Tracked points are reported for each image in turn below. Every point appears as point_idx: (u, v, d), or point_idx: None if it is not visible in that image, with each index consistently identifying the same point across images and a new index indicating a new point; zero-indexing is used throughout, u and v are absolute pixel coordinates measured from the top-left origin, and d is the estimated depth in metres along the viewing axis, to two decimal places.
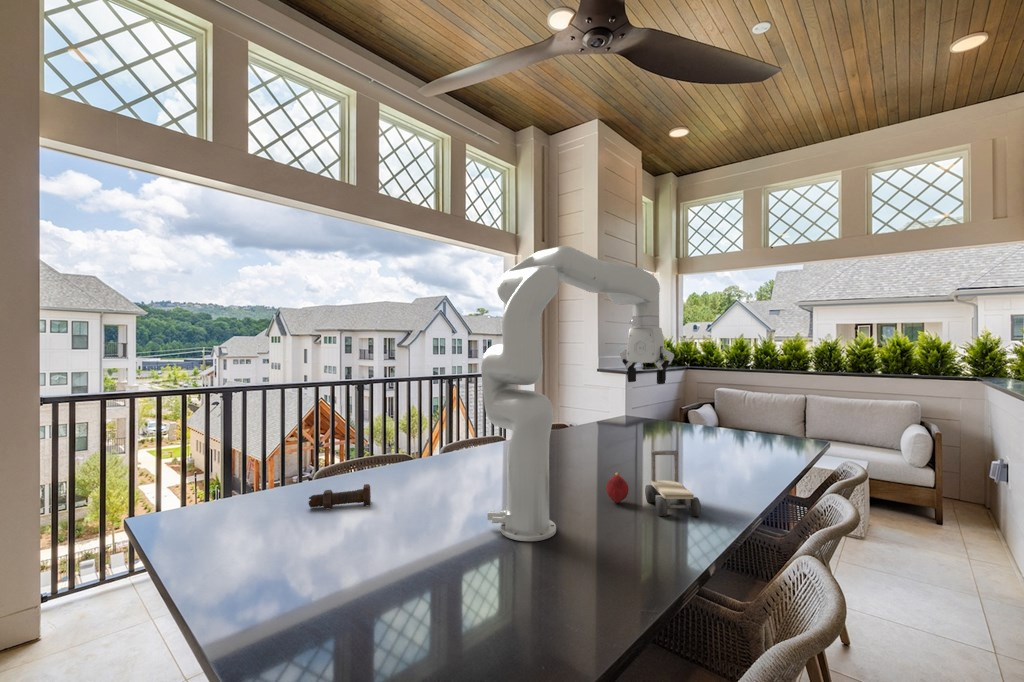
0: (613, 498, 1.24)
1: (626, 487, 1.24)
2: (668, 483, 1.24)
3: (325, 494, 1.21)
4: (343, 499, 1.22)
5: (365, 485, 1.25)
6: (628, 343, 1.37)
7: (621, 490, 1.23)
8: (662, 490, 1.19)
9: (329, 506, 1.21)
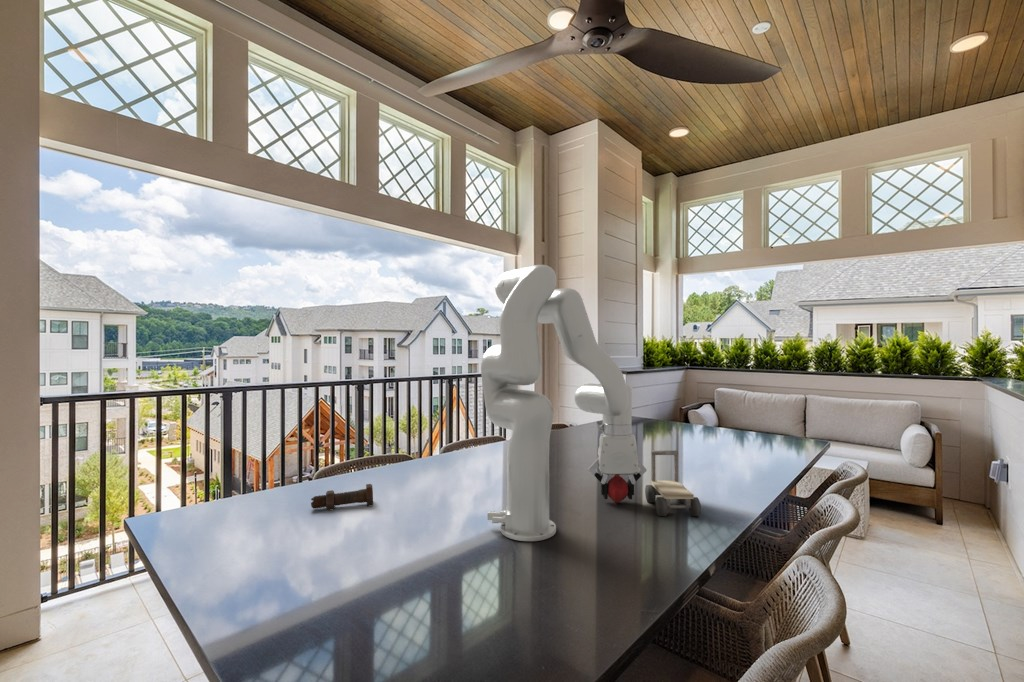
0: (613, 498, 1.24)
1: (626, 487, 1.24)
2: (668, 483, 1.24)
3: (328, 495, 1.20)
4: (346, 499, 1.22)
5: (367, 485, 1.25)
6: (603, 453, 1.23)
7: (621, 490, 1.23)
8: (662, 490, 1.19)
9: (332, 507, 1.21)
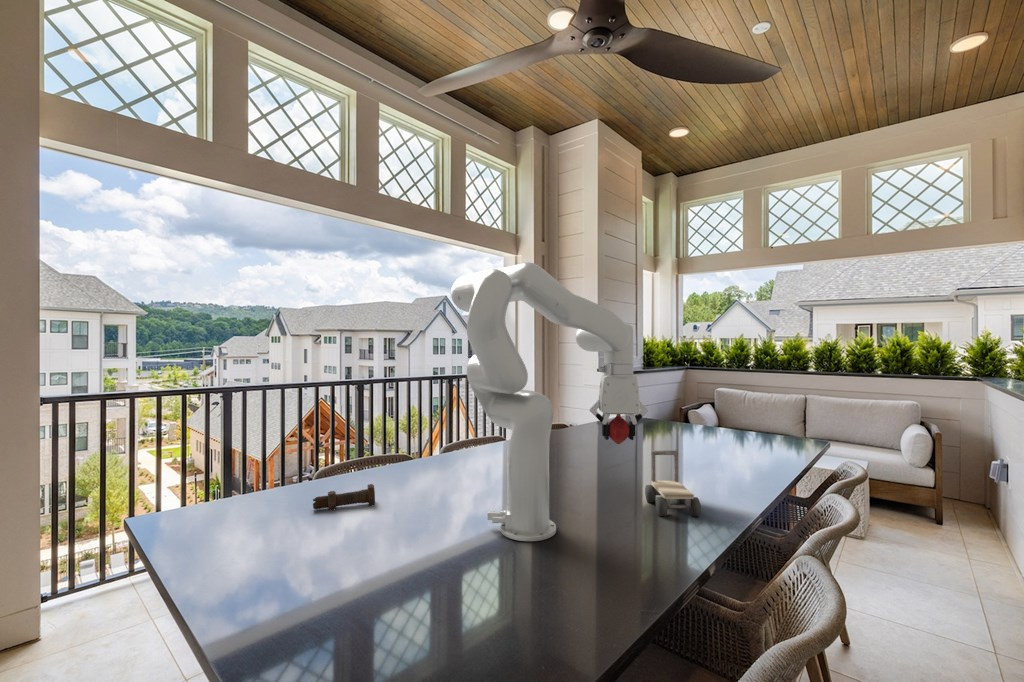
0: (614, 438, 1.23)
1: (627, 427, 1.23)
2: (668, 483, 1.24)
3: (330, 495, 1.20)
4: (348, 499, 1.22)
5: (369, 485, 1.25)
6: (604, 393, 1.22)
7: (622, 430, 1.22)
8: (662, 490, 1.19)
9: (334, 507, 1.20)
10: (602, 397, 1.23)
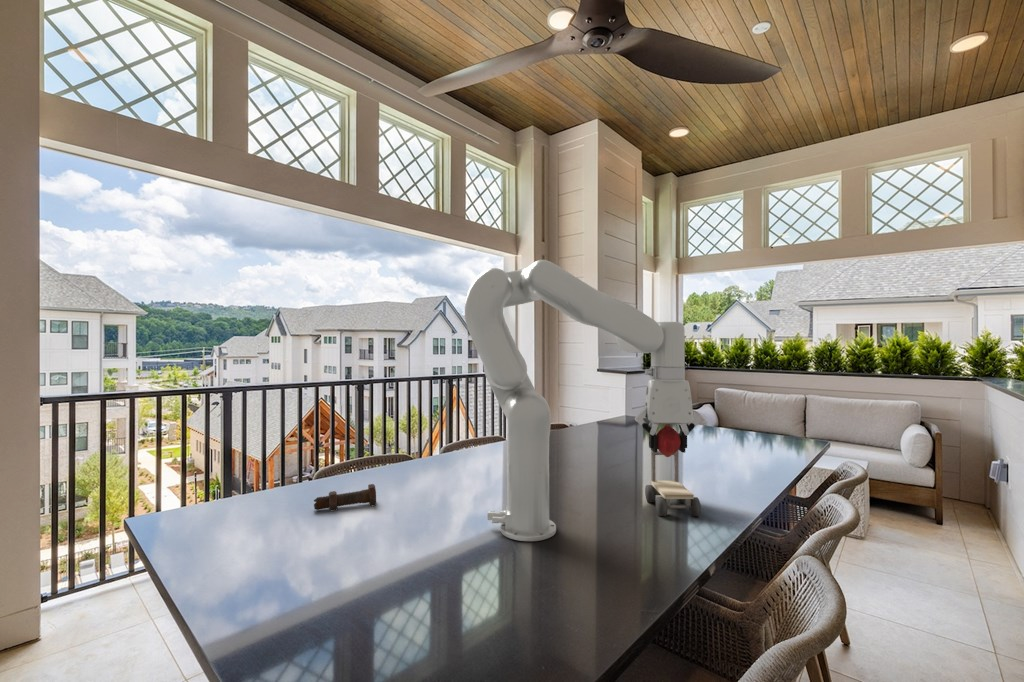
0: (664, 451, 1.09)
1: (679, 438, 1.09)
2: (668, 483, 1.24)
3: (331, 496, 1.20)
4: (349, 499, 1.21)
5: (370, 485, 1.25)
6: (653, 400, 1.08)
7: (673, 442, 1.08)
8: (662, 490, 1.19)
9: (335, 508, 1.20)
10: (650, 404, 1.09)
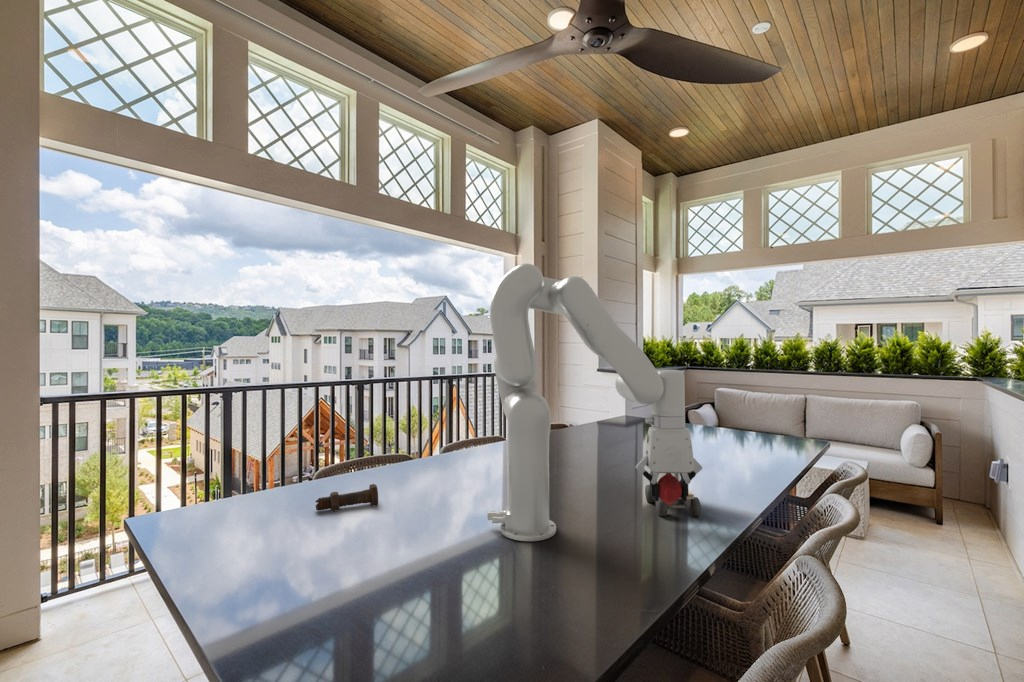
0: (665, 500, 1.09)
1: (680, 487, 1.09)
2: None
3: (333, 496, 1.20)
4: (351, 500, 1.21)
5: (371, 485, 1.25)
6: (653, 449, 1.08)
7: (674, 491, 1.08)
8: None
9: (337, 508, 1.20)
10: (651, 454, 1.09)
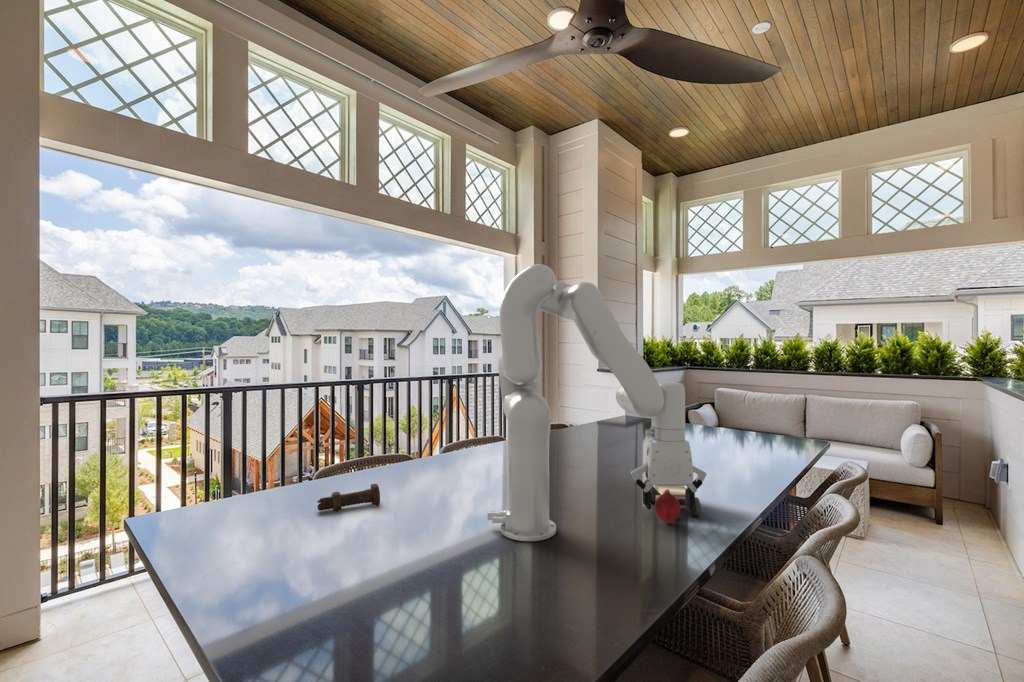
0: (664, 519, 1.09)
1: (678, 506, 1.09)
2: None
3: (335, 496, 1.19)
4: (353, 499, 1.21)
5: (373, 485, 1.26)
6: (653, 462, 1.08)
7: (673, 510, 1.08)
8: (662, 490, 1.19)
9: (339, 508, 1.20)
10: (651, 466, 1.09)
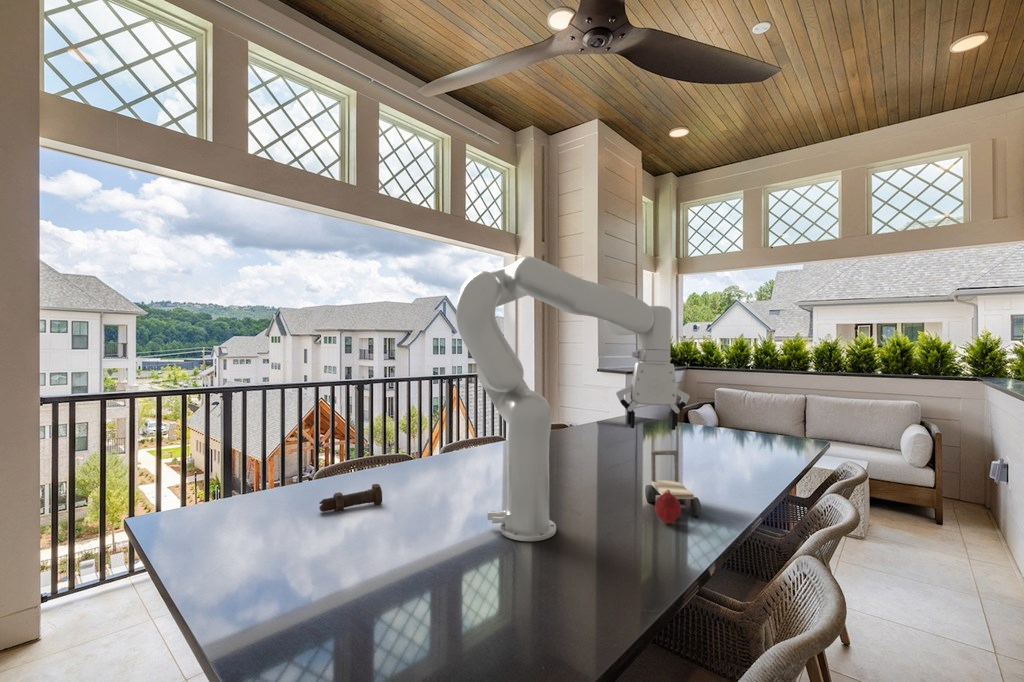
0: (664, 519, 1.09)
1: (679, 506, 1.09)
2: (668, 483, 1.24)
3: (338, 497, 1.19)
4: (355, 500, 1.21)
5: (375, 485, 1.26)
6: (638, 381, 1.12)
7: (673, 510, 1.08)
8: (662, 490, 1.19)
9: (342, 509, 1.19)
10: (635, 385, 1.12)
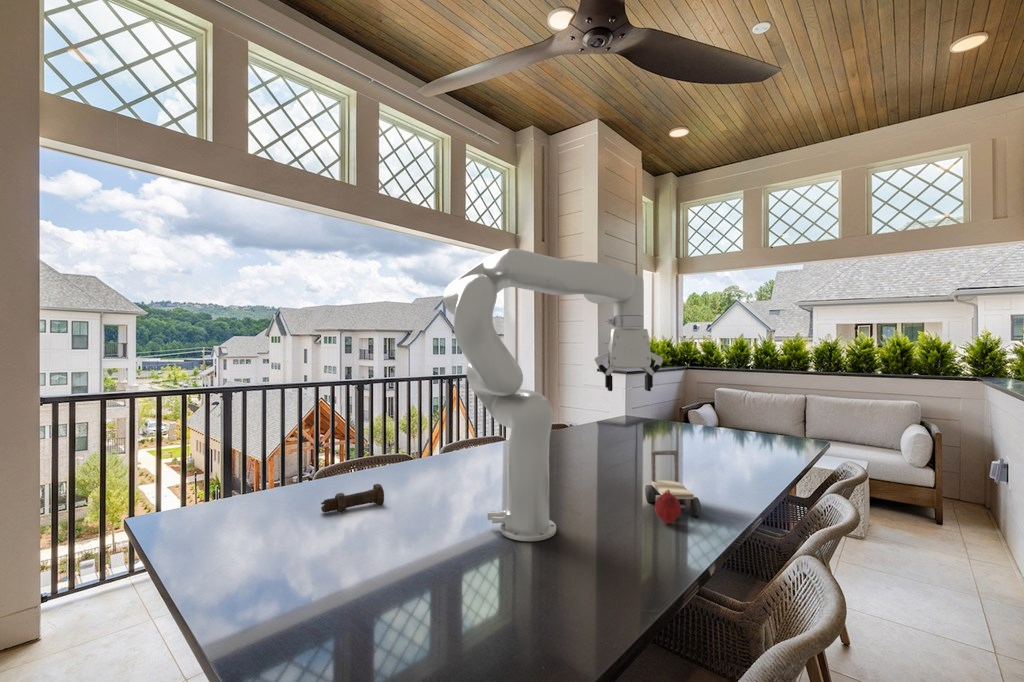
0: (664, 519, 1.09)
1: (679, 506, 1.09)
2: (668, 483, 1.24)
3: (340, 497, 1.19)
4: (357, 500, 1.21)
5: (376, 485, 1.26)
6: (614, 346, 1.18)
7: (673, 510, 1.08)
8: (662, 490, 1.19)
9: (344, 509, 1.19)
10: (612, 350, 1.18)
